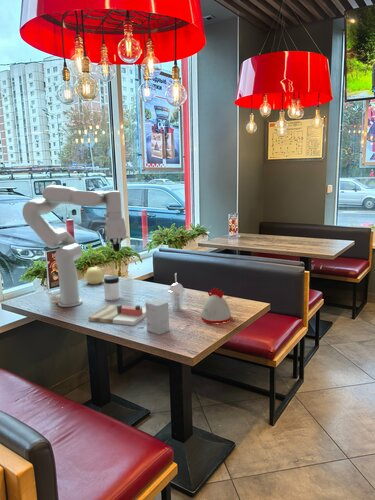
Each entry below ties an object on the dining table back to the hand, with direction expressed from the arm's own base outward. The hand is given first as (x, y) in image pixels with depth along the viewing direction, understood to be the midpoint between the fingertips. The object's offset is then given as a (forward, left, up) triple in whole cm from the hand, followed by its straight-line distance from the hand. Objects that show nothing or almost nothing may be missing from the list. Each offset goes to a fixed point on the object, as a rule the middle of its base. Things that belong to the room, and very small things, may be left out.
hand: (116, 251), depth 199 cm
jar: (-10, +10, -29) cm, 33 cm away
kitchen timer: (+54, -7, -29) cm, 62 cm away
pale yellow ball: (-37, +36, -29) cm, 59 cm away
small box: (+33, -27, -29) cm, 52 cm away
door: (+15, -15, -29) cm, 36 cm away
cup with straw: (+32, 0, -29) cm, 43 cm away
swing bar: (+15, -16, -27) cm, 35 cm away
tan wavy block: (+3, -15, -29) cm, 33 cm away
